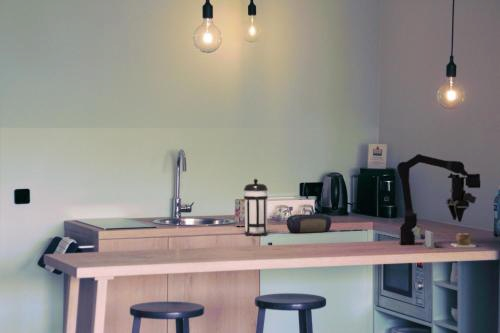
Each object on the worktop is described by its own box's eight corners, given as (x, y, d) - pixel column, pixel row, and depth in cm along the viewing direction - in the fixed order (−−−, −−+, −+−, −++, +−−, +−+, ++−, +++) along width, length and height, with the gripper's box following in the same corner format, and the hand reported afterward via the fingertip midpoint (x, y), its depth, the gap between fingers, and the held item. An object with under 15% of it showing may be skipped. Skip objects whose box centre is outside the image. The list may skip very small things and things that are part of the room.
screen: (429, 248, 373) (429, 233, 373) (423, 245, 384) (423, 230, 384) (435, 248, 374) (435, 232, 373) (429, 245, 385) (429, 230, 384)
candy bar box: (239, 227, 473) (239, 199, 472) (234, 227, 477) (234, 199, 476) (254, 226, 480) (254, 198, 479) (249, 225, 484) (248, 198, 483)
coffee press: (234, 235, 432) (234, 179, 431) (256, 232, 443) (255, 178, 443) (257, 237, 420) (257, 179, 419) (279, 235, 431) (278, 178, 430)
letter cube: (459, 245, 377) (459, 234, 377) (456, 244, 382) (456, 233, 382) (470, 245, 377) (470, 234, 377) (466, 243, 382) (466, 232, 382)
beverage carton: (405, 239, 411) (405, 226, 411) (400, 235, 431) (400, 222, 430) (421, 239, 411) (420, 226, 411) (415, 235, 430) (415, 222, 430)
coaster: (456, 247, 375) (456, 245, 375) (451, 245, 384) (451, 243, 384) (475, 247, 375) (475, 245, 375) (469, 245, 384) (469, 243, 384)
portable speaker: (292, 234, 435) (292, 215, 435) (285, 232, 445) (285, 214, 444) (334, 232, 444) (334, 214, 443) (326, 230, 453) (326, 212, 453)
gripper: (480, 189, 373) (479, 222, 374) (469, 186, 392) (468, 219, 392) (456, 188, 373) (455, 222, 374) (446, 186, 392) (445, 218, 392)
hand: (457, 220), depth 383 cm, fingers open, 9 cm apart
